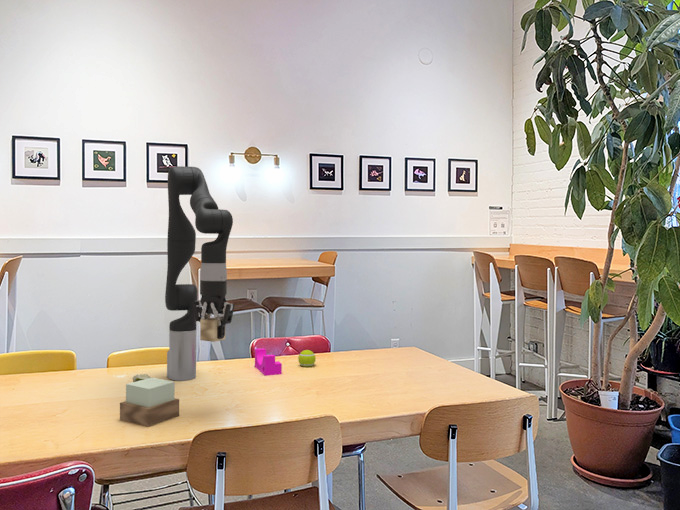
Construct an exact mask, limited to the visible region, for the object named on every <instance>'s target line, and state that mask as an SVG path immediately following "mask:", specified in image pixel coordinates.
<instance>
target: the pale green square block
mask: <svg viewBox="0 0 680 510" xmlns="http://www.w3.org/2000/svg"><path fill="white" fill-rule="evenodd" d="M175 384H176V383H175V381H174V380H166V379H162V378H157V377H151V378H148V379H144V380H140V381H136V382H133V381H132V382H129V383H126V384H125V401H126V402H127V403H131V404H135V405H140V406H144V407H148V408H150V407H153V406H156V405H159V404H162V403H165V402H169V401H172V400H174V398H175Z"/></svg>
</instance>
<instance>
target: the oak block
mask: <svg viewBox="0 0 680 510" xmlns="http://www.w3.org/2000/svg"><path fill="white" fill-rule="evenodd" d="M221 321H222V319H221ZM199 324H200V331H199V332H200V335H199V337H200V341H205V342H211V343H216V342H219V341H224V340H226V335H225V336H224V338H222V339H218V338H217V326H218V324H217V320H216V318H215V317H214V316H213V317H212V316H211V317H210V318H206V319H200V322H199Z"/></svg>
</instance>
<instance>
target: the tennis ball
mask: <svg viewBox="0 0 680 510" xmlns="http://www.w3.org/2000/svg"><path fill="white" fill-rule="evenodd" d="M297 360H298V363H299V364H300V366H301V367H304V368H311V367H312V366H314V364H315V363H316V355H315V353H314V351H312V350H309V349H305V350H302V351H301V352H300V353H299V354H298V358H297ZM310 366H311V367H310Z"/></svg>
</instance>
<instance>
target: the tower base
mask: <svg viewBox="0 0 680 510" xmlns="http://www.w3.org/2000/svg"><path fill="white" fill-rule="evenodd" d="M179 416H180V398H175V397H174V400H172V401H169V402H165V403H162V404H159V405H156V406H153V407H150V408H148V407H144V406H140V405H135V404H131V403H127V402H126V400H124V401H121V402H120V403H119V421H123V422H127V423H131V424H134V425H135V424H136V425H141V426H142V427H148V428H150V427H152V426H155V425H157V424H160V423H163V422H166V421H169V420H172V419H174V418H176V417H179Z"/></svg>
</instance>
